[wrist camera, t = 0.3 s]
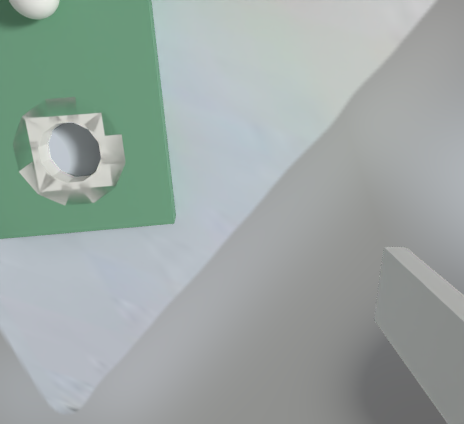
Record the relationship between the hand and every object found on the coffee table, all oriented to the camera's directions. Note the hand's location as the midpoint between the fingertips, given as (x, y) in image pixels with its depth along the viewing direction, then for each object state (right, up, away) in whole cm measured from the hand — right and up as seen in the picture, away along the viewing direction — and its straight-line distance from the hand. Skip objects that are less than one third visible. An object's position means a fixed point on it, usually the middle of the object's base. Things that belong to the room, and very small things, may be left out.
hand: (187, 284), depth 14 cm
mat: (-13, +13, +24) cm, 30 cm away
